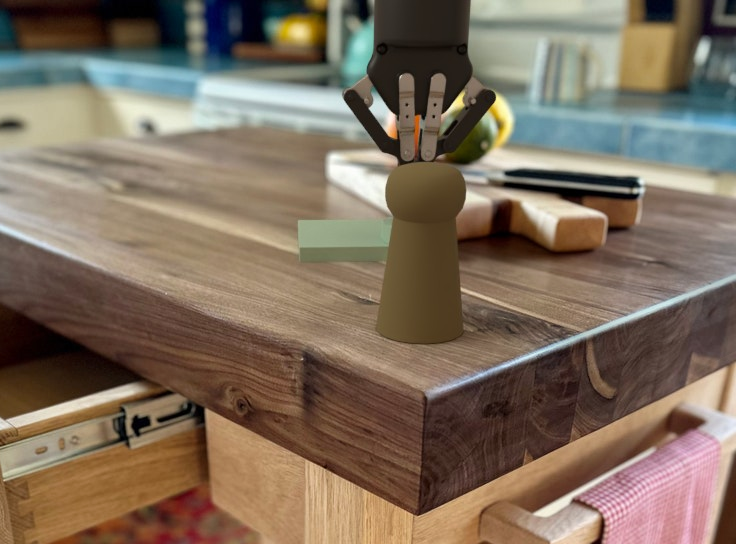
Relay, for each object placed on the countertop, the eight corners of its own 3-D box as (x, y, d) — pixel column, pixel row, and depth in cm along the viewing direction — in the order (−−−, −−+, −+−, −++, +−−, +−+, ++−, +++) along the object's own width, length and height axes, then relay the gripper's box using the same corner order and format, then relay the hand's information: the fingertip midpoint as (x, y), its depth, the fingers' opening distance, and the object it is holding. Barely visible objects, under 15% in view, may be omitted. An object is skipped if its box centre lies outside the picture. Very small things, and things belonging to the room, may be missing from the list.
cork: (357, 325, 60) (359, 162, 55) (419, 307, 64) (426, 153, 59) (419, 350, 56) (427, 176, 51) (482, 329, 59) (494, 165, 55)
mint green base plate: (430, 232, 84) (431, 201, 83) (449, 263, 74) (451, 228, 73) (298, 234, 83) (297, 203, 82) (299, 265, 74) (299, 230, 72)
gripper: (340, -22, 64) (339, 214, 71) (519, -21, 64) (499, 213, 72) (335, -20, 70) (334, 195, 78) (496, -19, 71) (481, 194, 78)
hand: (413, 203), depth 75 cm, fingers closed
